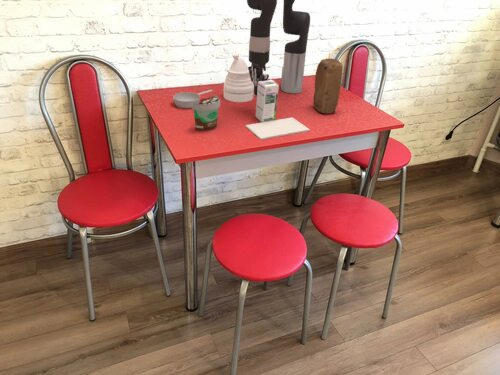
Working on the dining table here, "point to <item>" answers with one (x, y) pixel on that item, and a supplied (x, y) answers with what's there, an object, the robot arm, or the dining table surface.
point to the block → (327, 85)
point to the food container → (206, 113)
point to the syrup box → (267, 100)
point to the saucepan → (187, 99)
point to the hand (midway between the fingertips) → (257, 94)
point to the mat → (277, 128)
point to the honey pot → (238, 82)
